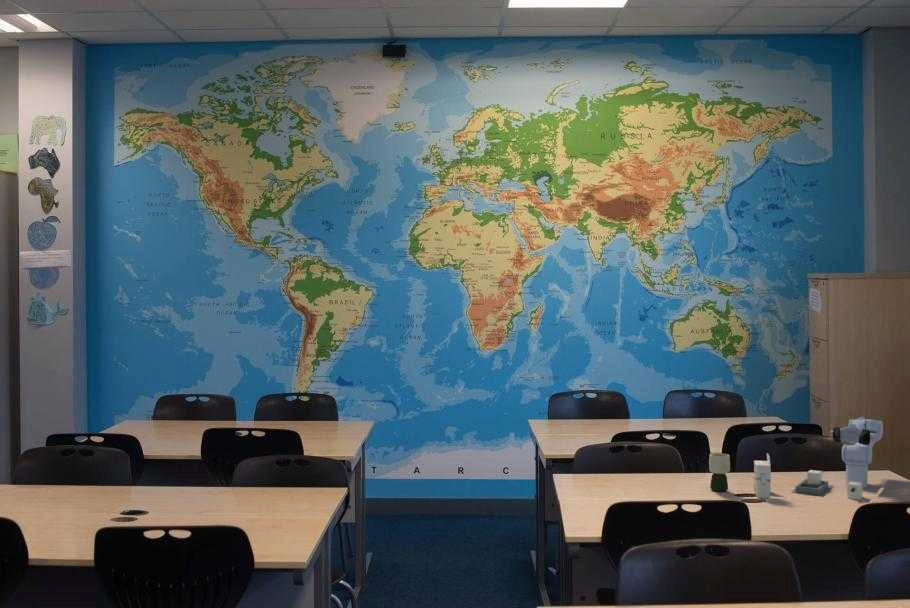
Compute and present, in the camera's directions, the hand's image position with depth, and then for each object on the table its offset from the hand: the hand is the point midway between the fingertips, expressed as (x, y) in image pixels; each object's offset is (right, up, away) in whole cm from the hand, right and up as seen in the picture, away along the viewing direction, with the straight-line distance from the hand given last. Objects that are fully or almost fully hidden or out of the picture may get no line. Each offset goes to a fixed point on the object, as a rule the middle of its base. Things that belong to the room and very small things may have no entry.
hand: (848, 439), depth 319 cm
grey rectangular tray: (-8, -20, +10) cm, 24 cm away
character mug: (-42, -20, +12) cm, 48 cm away
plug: (+1, -21, -3) cm, 21 cm away
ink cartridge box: (-29, -21, +5) cm, 36 cm away
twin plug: (-6, -19, +13) cm, 24 cm away
